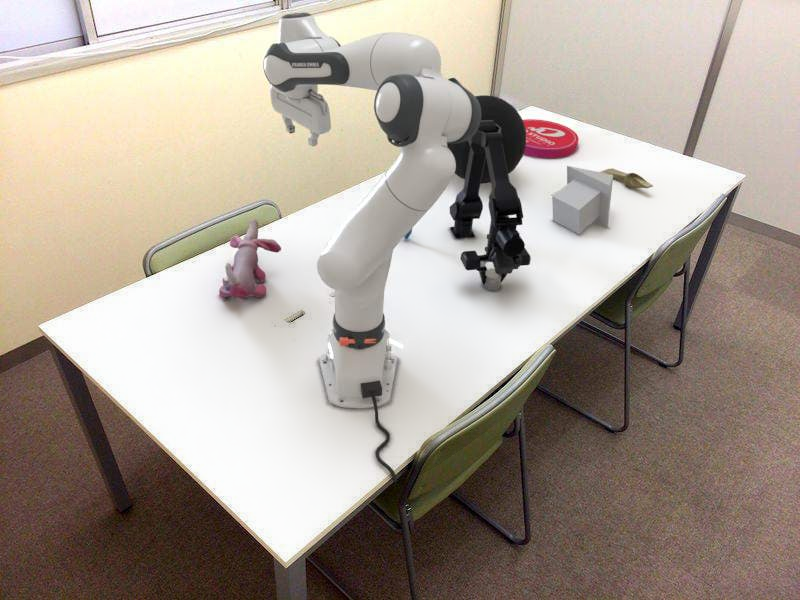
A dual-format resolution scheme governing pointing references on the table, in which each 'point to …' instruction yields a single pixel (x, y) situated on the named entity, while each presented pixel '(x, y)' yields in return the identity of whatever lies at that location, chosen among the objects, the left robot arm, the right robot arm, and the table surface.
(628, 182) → the tool
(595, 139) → the table surface
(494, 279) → the tin
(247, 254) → the toy
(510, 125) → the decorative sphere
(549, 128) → the sign
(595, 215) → the grey flanged block
